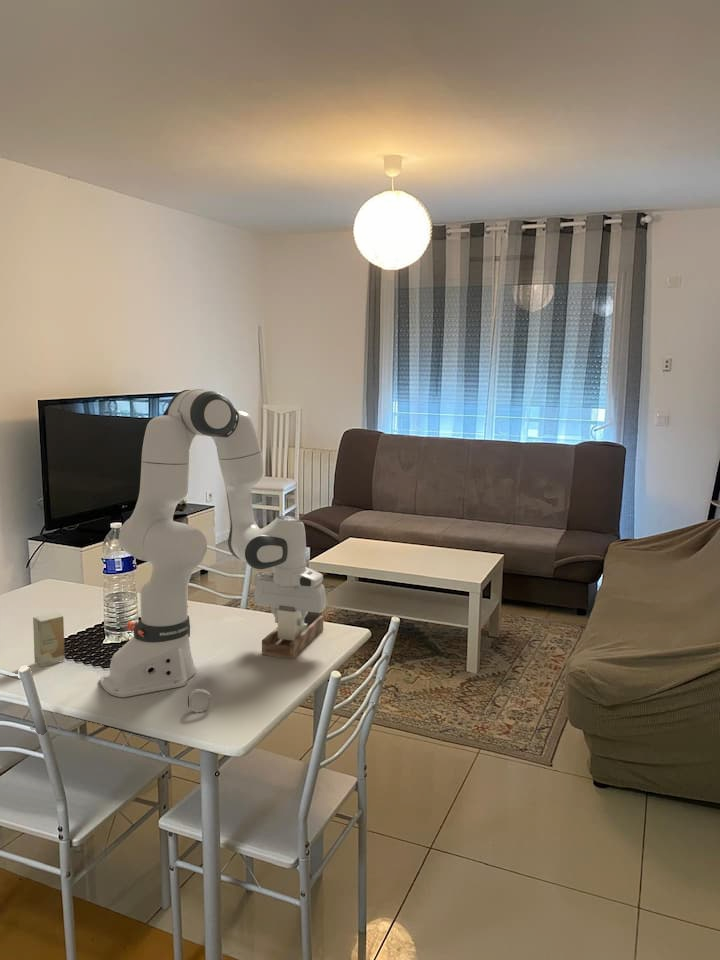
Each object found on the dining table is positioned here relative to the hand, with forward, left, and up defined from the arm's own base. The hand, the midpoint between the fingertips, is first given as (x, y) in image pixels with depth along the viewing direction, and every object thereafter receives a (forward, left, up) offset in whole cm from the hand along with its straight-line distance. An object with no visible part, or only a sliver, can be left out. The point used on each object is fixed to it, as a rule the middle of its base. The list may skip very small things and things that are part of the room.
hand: (289, 623), depth 196 cm
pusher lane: (+3, +2, -6) cm, 7 cm away
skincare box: (-55, +27, -6) cm, 62 cm away
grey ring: (-36, -20, -6) cm, 42 cm away
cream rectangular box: (0, 0, -4) cm, 4 cm away
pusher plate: (+4, +3, -5) cm, 7 cm away
